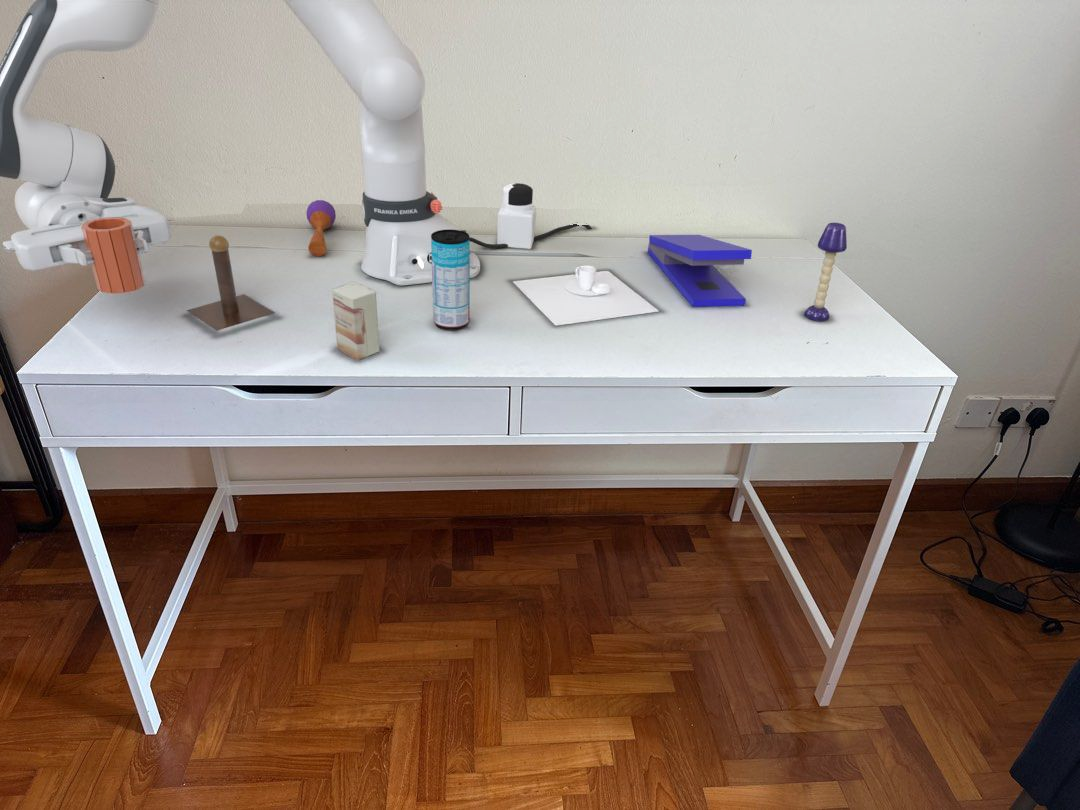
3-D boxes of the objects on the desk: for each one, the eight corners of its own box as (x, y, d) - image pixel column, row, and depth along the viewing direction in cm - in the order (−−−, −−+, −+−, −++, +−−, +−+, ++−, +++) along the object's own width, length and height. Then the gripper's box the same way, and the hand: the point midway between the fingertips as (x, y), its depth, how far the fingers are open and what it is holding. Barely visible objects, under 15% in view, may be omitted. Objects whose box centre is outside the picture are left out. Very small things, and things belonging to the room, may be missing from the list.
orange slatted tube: (134, 274, 112) (119, 214, 107) (152, 286, 108) (138, 225, 104) (91, 284, 108) (74, 222, 103) (108, 297, 104) (91, 234, 100)
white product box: (336, 350, 115) (329, 288, 109) (359, 341, 118) (354, 280, 112) (358, 361, 112) (352, 298, 107) (381, 352, 115) (377, 290, 110)
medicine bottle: (534, 238, 162) (537, 182, 156) (531, 249, 156) (533, 191, 150) (501, 235, 163) (503, 179, 157) (497, 246, 157) (498, 189, 151)
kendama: (297, 237, 144) (303, 198, 160) (306, 265, 148) (312, 224, 164) (328, 231, 145) (331, 193, 161) (336, 259, 149) (339, 219, 164)
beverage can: (473, 318, 127) (474, 231, 119) (463, 333, 122) (463, 243, 114) (439, 314, 127) (437, 227, 120) (428, 328, 122) (425, 239, 115)
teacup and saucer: (617, 296, 137) (619, 275, 135) (577, 301, 135) (579, 280, 132) (595, 279, 144) (597, 258, 142) (557, 283, 141) (559, 262, 139)
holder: (244, 299, 129) (231, 221, 122) (276, 318, 123) (264, 237, 116) (187, 315, 122) (170, 234, 115) (217, 336, 117) (201, 252, 110)
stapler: (689, 306, 135) (697, 254, 130) (643, 252, 158) (649, 205, 153) (749, 305, 137) (760, 253, 132) (695, 251, 160) (703, 205, 155)
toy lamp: (813, 323, 132) (838, 230, 123) (794, 313, 135) (817, 221, 126) (833, 319, 134) (859, 227, 125) (814, 309, 137) (837, 219, 128)
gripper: (-10, 220, 104) (25, 247, 97) (141, 195, 118) (183, 217, 110) (5, 264, 108) (40, 293, 100) (150, 234, 121) (191, 258, 113)
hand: (116, 253), depth 105 cm, fingers closed on orange slatted tube, 6 cm apart
